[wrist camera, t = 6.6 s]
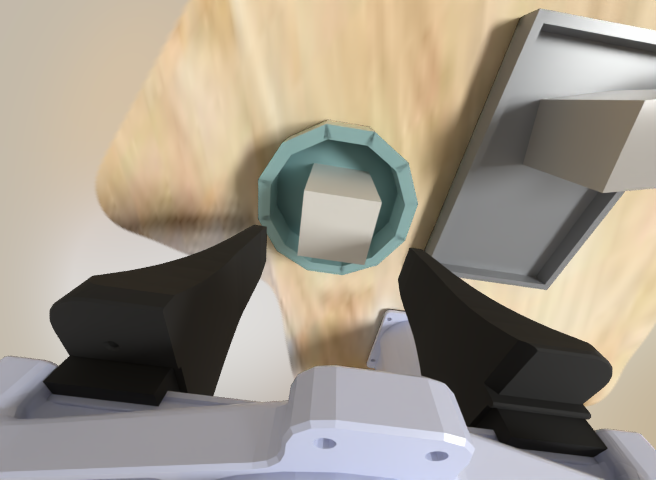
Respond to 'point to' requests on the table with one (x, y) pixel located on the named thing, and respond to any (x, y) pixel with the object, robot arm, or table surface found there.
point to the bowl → (347, 152)
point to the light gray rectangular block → (597, 140)
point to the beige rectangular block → (338, 214)
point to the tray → (511, 145)
